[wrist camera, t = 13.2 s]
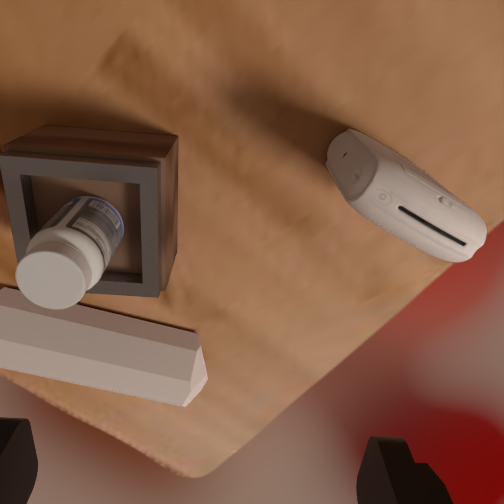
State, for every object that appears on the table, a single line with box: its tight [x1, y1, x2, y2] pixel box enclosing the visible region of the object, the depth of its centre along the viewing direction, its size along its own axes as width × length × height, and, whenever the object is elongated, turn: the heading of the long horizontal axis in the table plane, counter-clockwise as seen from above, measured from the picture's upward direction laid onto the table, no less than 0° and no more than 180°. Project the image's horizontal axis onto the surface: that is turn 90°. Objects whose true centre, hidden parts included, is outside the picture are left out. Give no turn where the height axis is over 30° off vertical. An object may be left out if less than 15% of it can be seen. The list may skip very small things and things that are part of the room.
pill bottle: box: [15, 196, 124, 309], centre depth 29 cm, size 5×5×8 cm
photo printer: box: [326, 129, 487, 262], centre depth 33 cm, size 10×4×12 cm, turn 60°
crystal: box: [0, 287, 208, 407], centre depth 44 cm, size 7×7×24 cm
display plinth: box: [0, 125, 178, 298], centre depth 35 cm, size 11×11×8 cm
